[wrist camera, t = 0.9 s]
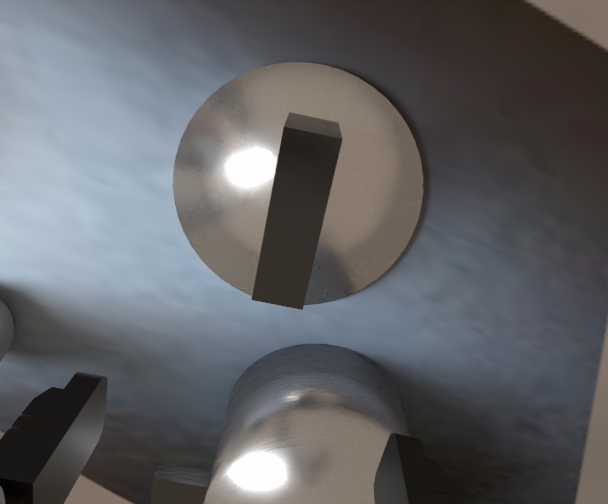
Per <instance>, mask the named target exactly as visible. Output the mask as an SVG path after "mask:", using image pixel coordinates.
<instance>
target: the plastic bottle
mask: <svg viewBox="0 0 608 504" xmlns="http://www.w3.org/2000/svg"><path fill="white" fill-rule="evenodd" d="M13 337H14V324H13V319H12V315H11V313H10V311H9V309H8V308H7V306H6V305H5V303H4V302H3V301H2V300H1V299H0V361H1V360H2V358H3V357H4V355H5V354H6V352H7V351H8V349H9V347H10V346H11V344H12V341H13Z"/></svg>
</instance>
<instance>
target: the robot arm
mask: <svg viewBox="0 0 608 504" xmlns="http://www.w3.org/2000/svg"><path fill="white" fill-rule="evenodd" d="M106 393H107V378H106V377H104V376H98V375H93V374H88V373H83V372H77V373H76V374H75V375H74V376H73V378H72V379H71V380H70V382H69V383H68V384H67V386H66V387H65V388H64V389H59V388H54V387H51V388H50V389H48V390H47V391H45V392H43V393H42V394H40V395H39V396H37V397H35V398H34V399H33V400H32V401H31V403H30V404H29V405H28V406H27V407H26V409H25V410H24V411H23V412H22V414H21V416H19V417H18V419H17V420H16V421H15V422H14V423H13V425H12V427H11V429H9V430H8V431H7V432H6V433H5V435H4V436H3V437H2V438H1V439H0V504H64V502H65V500H66V498H67V497H68V495H69V493H70V491H71V489H72V488H73V486H74V484H75V482H76V480H77V479H78V477H79V475H80V473H81V472H82V470H83V468H84V466H85V464H86V463H87V461H88V459H89V457H90V456H91V454H92V452H93V450H94V448H95V447H96V445H97V443H98V441H99V438H100V436H101V433H102V430H103V426H104V421H105V408H106ZM374 500H375V504H455V503H454V500H453V498H452V493H451V490H450V486H449V483H448V479H447V477H446V475H445V474H444V472H443V471H442V469H441V468H440V467H439V465H438V464H437V462H436V461H435V460H430V459H425V457H424V453H423V449H422V445H421V442H420V439H419V438H418V437H413V436H408V435H402V434H397V433H391V434H390V436H389V438H388V441H387V444H386V446H385V449H384V452H383V455H382V457H381V460H380V463H379V466H378V468H377V471H376V475H375V480H374Z"/></svg>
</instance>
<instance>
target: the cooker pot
mask: <svg viewBox="0 0 608 504" xmlns="http://www.w3.org/2000/svg"><path fill="white" fill-rule="evenodd" d="M391 433H397V434H402V435H408V436H409V433H408V429H407V424H406V420H405V416H404V412H403V408H402V403H401V399H400V396H399V393H398V391H397V388H396V387H395V385H394V383H393V382H392V380H391V379H390V377H389V376H388V375H387V374H386V373H385V372H384V371H383V370H382V369H381V368H380V367H379V366H378V365H377V364H375V363H374V362H372V361H371V360H370V359H368V358H366V357H364V356H362V355H361V354H359V353H356V352H354V351H351V350H348V349H345V348H341V347H337V346H332V345H325V344H304V345H296V346H291V347H286V348H283V349H280V350H277V351H274V352H272V353H270V354H268V355H266V356H264V357H262V358H261V359H259V360H258V361H256V362H255V363H254V364H252V365H251V366H250V367H249V368H248V369H247V370H246V371H245V372H244V373H243V374H242V375H241V376H240V378H239V379H238V381H237V382H236V384H235V386H234V388H233V390H232V392H231V395H230V399H229V403H228V407H227V411H226V415H225V419H224V423H223V427H222V431H221V435H220V439H219V443H218V448H217V452H216V456H215V460H214V464H213V468H212V472H211V471H205V470H199V469H194V468H188V467H182V466H176V465H170V464H164V463H159V464H158V467H157V469H156V472H155V475H154V477H153V485H152V493H151V502H150V504H375V500H374V480H375V475H376V471H377V468H378V466H379V463H380V460H381V457H382V455H383V452H384V449H385V446H386V444H387V441H388V438H389V436H390V434H391Z"/></svg>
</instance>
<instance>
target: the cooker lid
mask: <svg viewBox="0 0 608 504" xmlns="http://www.w3.org/2000/svg"><path fill="white" fill-rule="evenodd" d="M173 190H174V200H175V205H176V210H177V214H178V218H179V220H180V223H181V226H182V228H183V231H184V233H185V235H186V237H187V239H188V240H189V242H190V244H191V246H192V247H193V249H194V250H195V251H196V253H197V254H198V256H199V257H200V258H201V259H202V261H203V262H204V263H205V264H206V265H207V266H208V267H209V268H210V269H211V270H212V271H213V272H214V273H215V274H217V275H218V276H219V277H220V278H221V279H223V280H224V281H226V282H227V283H229V284H230V285H232V286H233V287H235V288H237V289H239V290H240V291H242V292H244V293H246V294H249V295H251V296H252V300H255V301H260V302H266V303H271V304H276V305H281V306H286V307H292V308H297V309H302V310H303V305H310V304H320V303H325V302H329V301H334V300H337V299H340V298H343V297H346V296H348V295H351V294H353V293H355V292H357V291H359V290H361V289H363V288H364V287H366V286H367V285H369V284H371V283H372V282H374V281H375V280H376V279H377V278H379V277H380V276H381V275H382V274H383V273H385V272H386V271H387V270H388V269H389V268H390V267H391V266H392V264H393V263H394V262H395V261H396V260H397V259H398V257H399V256H400V255H401V253H402V252H403V251H404V249H405V248H406V246H407V244H408V242H409V240H410V238H411V237H412V235H413V232H414V230H415V227H416V225H417V222H418V219H419V215H420V211H421V206H422V199H423V171H422V165H421V159H420V155H419V152H418V149H417V145H416V142H415V140H414V138H413V136H412V134H411V131H410V129H409V127H408V125H407V124H406V122H405V121H404V119H403V118H402V116H401V115H400V113H399V112H398V111H397V110H396V108H395V107H394V106H393V105H392V104H391V103H390V102H389V100H388V99H387V98H385V97H384V96H383V95H382V94H381V93H380V92H378V91H377V90H376V89H375V88H374V87H373V86H371V85H369V84H368V83H366V82H365V81H363V80H362V79H360V78H358V77H357V76H354V75H352V74H350V73H348V72H346V71H343V70H341V69H338V68H334V67H331V66H328V65H324V64H317V63H310V62H285V63H277V64H271V65H267V66H264V67H260V68H257V69H254V70H251V71H249V72H247V73H245V74H242V75H240V76H238V77H236V78H234V79H233V80H231V81H230V82H228V83H226V84H225V85H223V86H222V87H221V88H219V89H218V90H217V91H216V92H215V93H213V94H212V95H211V96H210V97H209V98H208V99H207V100H206V101H205V102H204V103H203V105H202V106H201V107H200V108H199V109H198V110H197V112H196V113H195V115H194V116H193V118H192V119H191V121H190V122H189V124H188V126H187V128H186V130H185V132H184V134H183V136H182V138H181V141H180V144H179V148H178V151H177V154H176V159H175V165H174V174H173Z"/></svg>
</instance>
